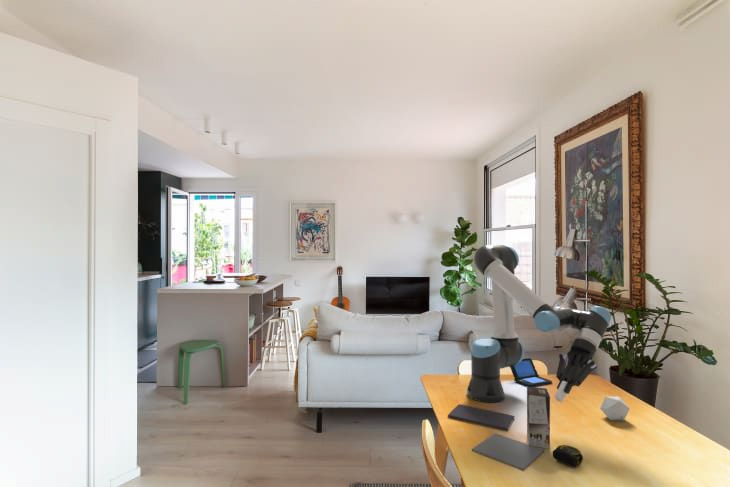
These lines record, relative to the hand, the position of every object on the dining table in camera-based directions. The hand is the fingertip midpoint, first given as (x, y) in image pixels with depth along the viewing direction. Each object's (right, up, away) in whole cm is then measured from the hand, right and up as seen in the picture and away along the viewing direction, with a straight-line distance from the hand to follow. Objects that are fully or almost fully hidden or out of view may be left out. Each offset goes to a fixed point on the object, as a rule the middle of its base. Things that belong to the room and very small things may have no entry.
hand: (558, 399), depth 135 cm
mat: (-21, -11, -11) cm, 26 cm away
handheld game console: (+14, -14, +57) cm, 60 cm away
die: (+28, -13, +14) cm, 34 cm away
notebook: (-22, -13, +13) cm, 29 cm away
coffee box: (-9, -12, -5) cm, 16 cm away
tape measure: (-6, -12, -18) cm, 23 cm away
